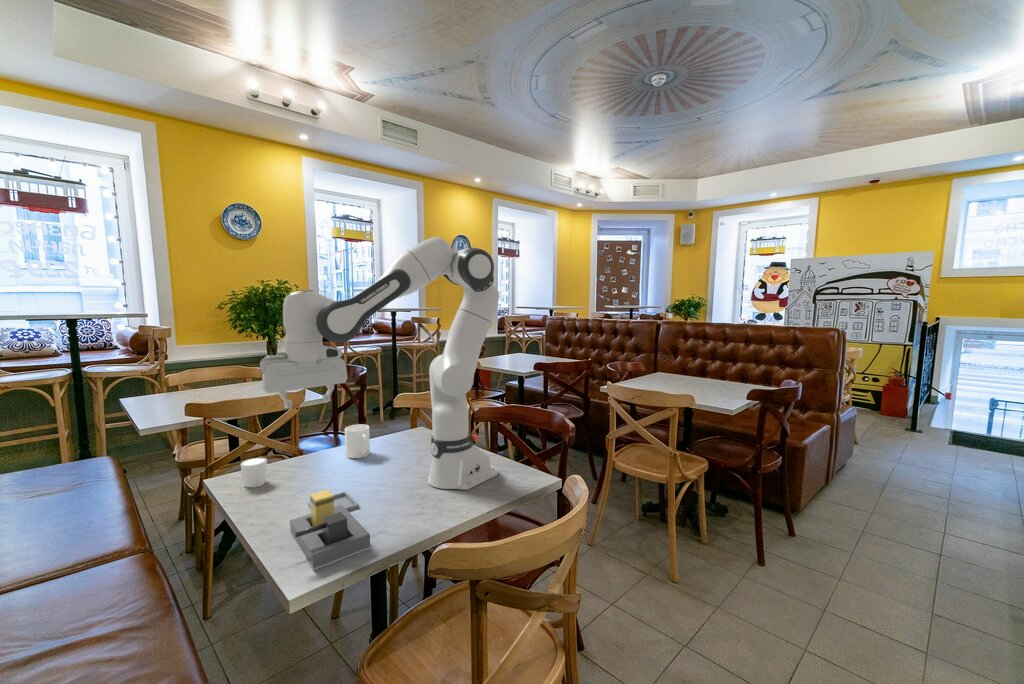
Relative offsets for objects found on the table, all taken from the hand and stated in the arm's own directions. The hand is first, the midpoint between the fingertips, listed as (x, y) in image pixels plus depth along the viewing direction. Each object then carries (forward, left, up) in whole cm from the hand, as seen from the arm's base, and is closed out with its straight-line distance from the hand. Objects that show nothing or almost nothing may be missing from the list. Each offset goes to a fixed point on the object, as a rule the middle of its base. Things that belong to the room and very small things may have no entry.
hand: (308, 404), depth 111 cm
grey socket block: (+2, +20, -28) cm, 35 cm away
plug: (+2, +16, -28) cm, 32 cm away
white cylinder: (+9, -26, -28) cm, 40 cm away
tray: (-4, +5, -28) cm, 29 cm away
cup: (-24, -28, -28) cm, 47 cm away
